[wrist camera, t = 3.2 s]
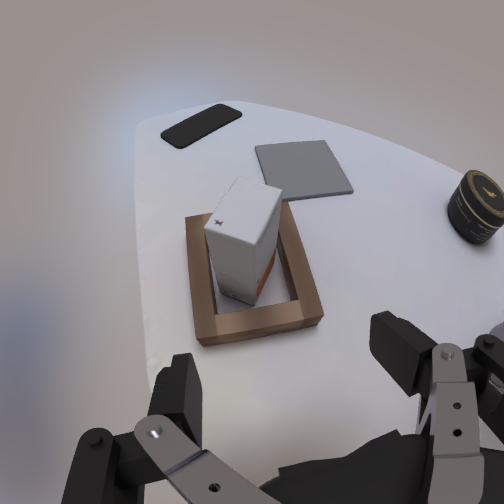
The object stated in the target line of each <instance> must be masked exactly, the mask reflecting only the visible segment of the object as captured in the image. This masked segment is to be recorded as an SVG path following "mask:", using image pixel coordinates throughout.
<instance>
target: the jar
mask: <svg viewBox="0 0 504 504" xmlns="http://www.w3.org/2000/svg"><path fill="white" fill-rule="evenodd" d="M448 212H449V217H450V220H451V222H452V224H453V226H454V227H455V229H456V230H457V231H458V233H459V234H460V235H461V236H462V237H464V238H465V239H466V240H468V241H470V242H472V243H483V242H485V241H487V240H488V239H490V238H491V237H492V236H493V235H494V233H495V232H496V231H497V230H498V229H499V228H500V227H502V226H503V225H504V193H503V191H502V190H501V189H500V187H499V186H498V185H497V184H496V183H495V182H494V181H493V180H492V179H491V178H490V177H488V176H487V175H485V174H484V173H482V172H480V171H477V170H470V171H468V172H467V173H466V174H465V176H464V177H463V178H462V180H461V181H460V184H459V186H458V187H457V189H456V190H455V192H454V193H453V195H452V196H451V199H450V202H449V205H448Z"/></svg>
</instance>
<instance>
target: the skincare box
mask: <svg viewBox="0 0 504 504" xmlns="http://www.w3.org/2000/svg"><path fill="white" fill-rule="evenodd" d="M282 193H283V190H281V189H278V188H275V187H272V186H268V185H265V184H262V183H258V182H255V181H252V180H249V179H246V178H243V177H238V178H237V179H236V180H235V182H234V183H233V185H232V186H231V187H230V189H229V190H228V192H227V193H226V194H225V195H224V196H223V198H222V199H221V200H220V202H219V204H218V206H217V208H216V209H215V211H214V212H213V214H212V216H211V217H210V218H209V220H208V222H207V223H206V225H205V226H204V232H205V236H206V240H207V244H208V248H209V252H210V256H211V260H212V264H213V267H214V271H215V275H216V279H217V283H218V287H219V290H220V292H221V293H224V294H226V295H229V296H231V297H233V298H236V299H238V300H241V301H243V302H245V303H248V304H250V305H253V306H254V305H255V303H256V301H257V299H258V296H259V294H260V292H261V290H262V287H263V285H264V283H265V281H266V279H267V277H268V274H269V272H270V270H271V268H272V266H273V264H274V260H275V253H276V245H277V237H278V229H279V220H280V211H281V202H282Z"/></svg>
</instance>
